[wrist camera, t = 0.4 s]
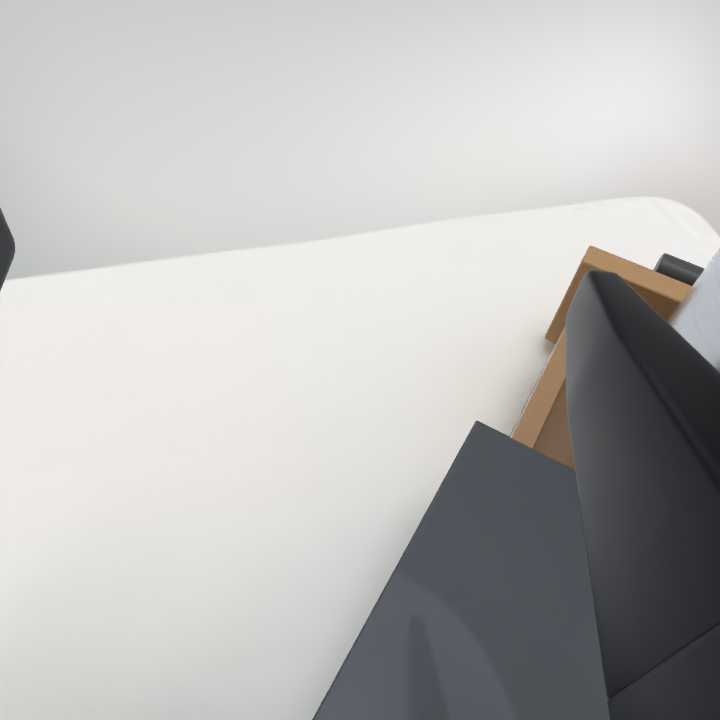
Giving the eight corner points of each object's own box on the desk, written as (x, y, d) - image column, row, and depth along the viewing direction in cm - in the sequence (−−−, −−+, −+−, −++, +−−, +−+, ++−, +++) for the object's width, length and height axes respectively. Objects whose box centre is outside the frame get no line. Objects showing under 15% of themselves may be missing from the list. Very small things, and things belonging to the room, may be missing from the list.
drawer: (576, 275, 32) (615, 195, 28) (843, 387, 29) (933, 315, 24) (420, 576, 22) (445, 522, 18) (800, 802, 19) (939, 799, 15)
